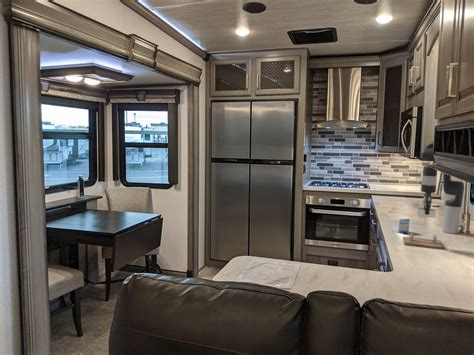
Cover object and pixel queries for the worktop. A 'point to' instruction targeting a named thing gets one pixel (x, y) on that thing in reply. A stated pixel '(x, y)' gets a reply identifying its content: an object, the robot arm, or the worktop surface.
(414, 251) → the worktop surface
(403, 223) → the medicine box
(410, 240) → the pin tray
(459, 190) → the robot arm
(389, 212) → the worktop surface
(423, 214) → the block
